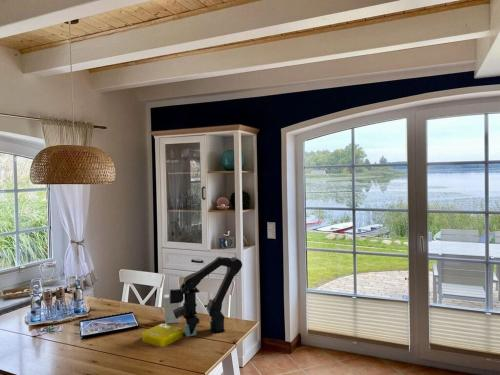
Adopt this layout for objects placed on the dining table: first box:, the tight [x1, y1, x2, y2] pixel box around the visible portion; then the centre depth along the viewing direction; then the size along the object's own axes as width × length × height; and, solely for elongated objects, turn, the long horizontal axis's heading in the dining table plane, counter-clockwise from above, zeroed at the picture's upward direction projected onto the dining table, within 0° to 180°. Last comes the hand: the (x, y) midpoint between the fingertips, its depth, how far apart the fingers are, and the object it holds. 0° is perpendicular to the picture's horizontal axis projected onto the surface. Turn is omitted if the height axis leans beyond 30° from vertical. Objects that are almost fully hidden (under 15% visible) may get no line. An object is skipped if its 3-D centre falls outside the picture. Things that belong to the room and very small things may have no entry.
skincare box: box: [163, 293, 181, 325], centre depth 209 cm, size 8×6×15 cm
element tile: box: [141, 322, 183, 348], centre depth 187 cm, size 15×15×5 cm
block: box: [184, 322, 197, 337], centre depth 192 cm, size 5×5×5 cm
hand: (190, 331), depth 192 cm, fingers closed on block, 5 cm apart
